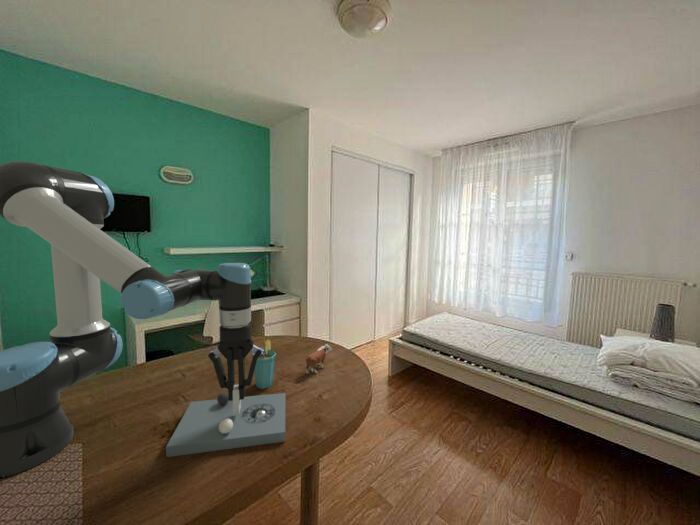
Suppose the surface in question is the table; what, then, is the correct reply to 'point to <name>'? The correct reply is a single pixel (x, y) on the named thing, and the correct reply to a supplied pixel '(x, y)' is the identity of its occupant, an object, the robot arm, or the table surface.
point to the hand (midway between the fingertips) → (237, 410)
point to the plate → (205, 416)
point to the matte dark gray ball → (223, 398)
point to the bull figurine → (317, 358)
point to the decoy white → (225, 426)
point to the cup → (265, 366)
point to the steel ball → (260, 414)
